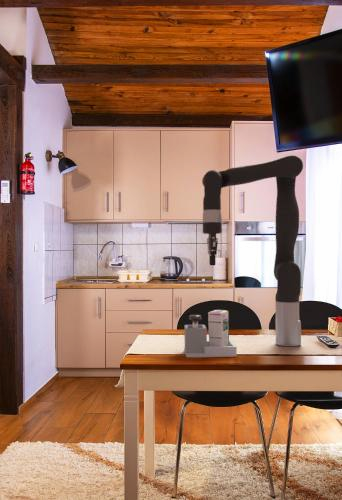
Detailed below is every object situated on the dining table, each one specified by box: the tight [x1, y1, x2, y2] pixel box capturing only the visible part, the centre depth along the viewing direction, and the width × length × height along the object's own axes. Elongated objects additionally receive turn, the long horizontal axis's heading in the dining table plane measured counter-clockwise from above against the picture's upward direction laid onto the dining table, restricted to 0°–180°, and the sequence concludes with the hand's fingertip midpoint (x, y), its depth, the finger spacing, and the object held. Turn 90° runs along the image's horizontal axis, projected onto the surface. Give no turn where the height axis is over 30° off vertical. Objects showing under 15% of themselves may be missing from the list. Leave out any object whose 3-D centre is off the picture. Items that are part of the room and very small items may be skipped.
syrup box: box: [207, 309, 230, 347], centre depth 175 cm, size 6×6×14 cm
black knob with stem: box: [188, 314, 202, 328], centre depth 175 cm, size 4×4×8 cm
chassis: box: [183, 324, 238, 358], centre depth 175 cm, size 18×11×10 cm, turn 92°
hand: (212, 265), depth 188 cm, fingers closed
